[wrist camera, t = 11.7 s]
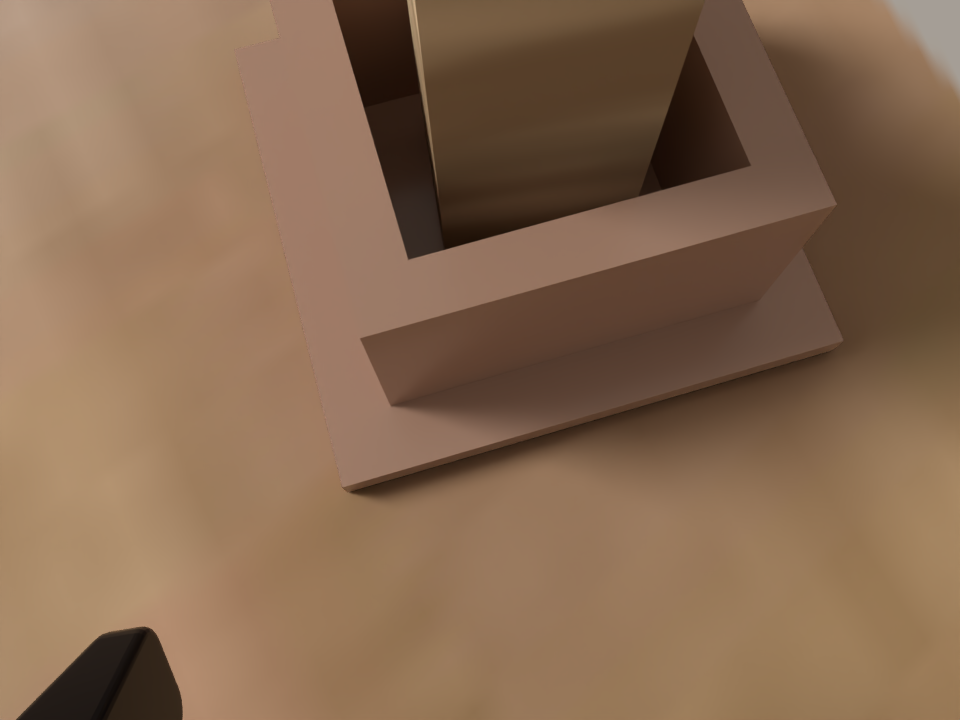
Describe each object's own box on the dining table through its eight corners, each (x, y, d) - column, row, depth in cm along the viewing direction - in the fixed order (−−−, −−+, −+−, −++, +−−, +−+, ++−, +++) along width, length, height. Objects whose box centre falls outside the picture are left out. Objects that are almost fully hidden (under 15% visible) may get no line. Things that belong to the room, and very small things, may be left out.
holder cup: (832, 350, 17) (948, 255, 13) (347, 492, 17) (295, 443, 12) (660, -40, 20) (707, -227, 16) (241, 66, 19) (168, -99, 15)
